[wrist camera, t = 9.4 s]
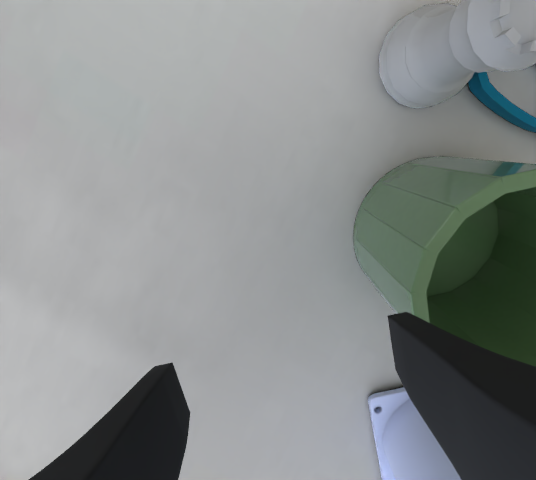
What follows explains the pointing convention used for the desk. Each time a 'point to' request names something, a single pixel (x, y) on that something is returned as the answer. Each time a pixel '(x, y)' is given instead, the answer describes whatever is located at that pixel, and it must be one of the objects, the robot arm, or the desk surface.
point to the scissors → (500, 102)
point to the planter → (456, 248)
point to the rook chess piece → (455, 47)
